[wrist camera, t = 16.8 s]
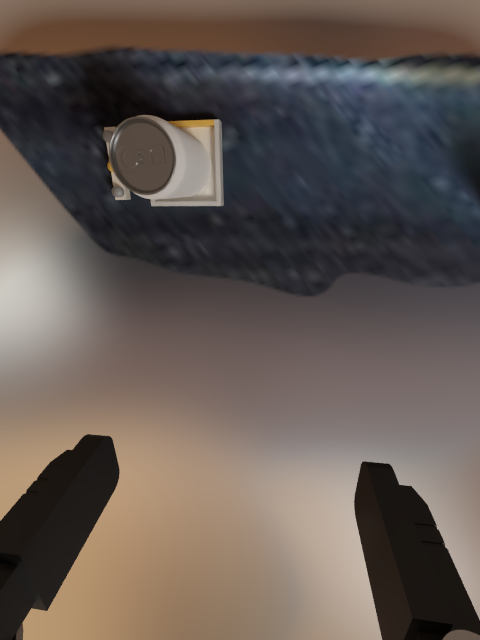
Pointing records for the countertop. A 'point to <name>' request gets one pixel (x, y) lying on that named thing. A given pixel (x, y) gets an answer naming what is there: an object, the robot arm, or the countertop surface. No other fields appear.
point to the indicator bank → (118, 187)
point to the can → (158, 159)
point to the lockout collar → (212, 141)
